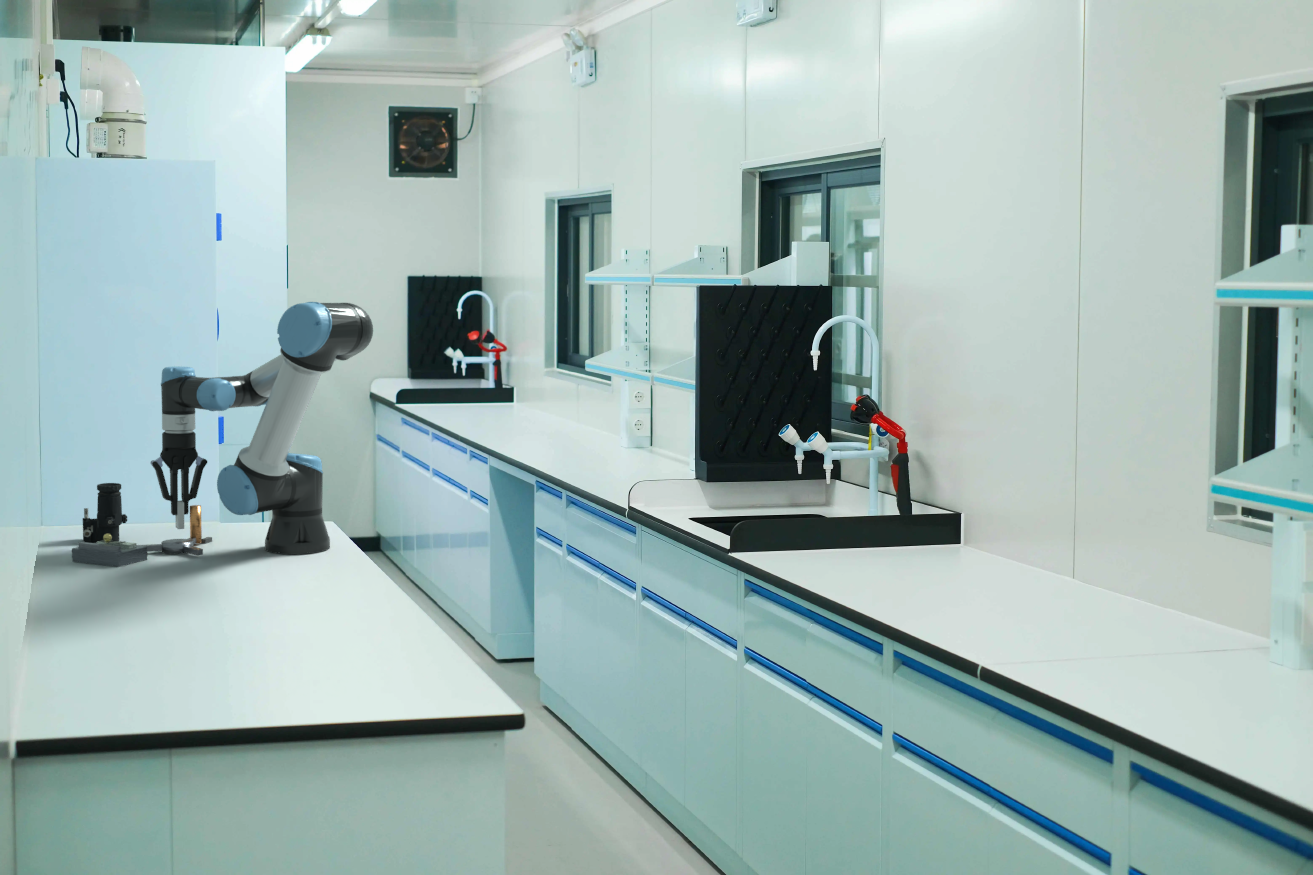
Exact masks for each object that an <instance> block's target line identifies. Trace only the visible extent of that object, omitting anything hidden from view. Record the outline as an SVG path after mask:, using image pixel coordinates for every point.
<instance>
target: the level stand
mask: <svg viewBox="0 0 1313 875" xmlns="http://www.w3.org/2000/svg"><path fill="white" fill-rule="evenodd" d="M103 539H104V540H101V541H97V543H87V542H84V541H80V542H78V544H77V545H78V546H76V547H73V548H71V559H72V560H71V561H72V562H74V563H81V564H90V565H96V566H97V565H98V566H107V567H114V568H115V567H116V568H119V567H125V566H128V565H131V564H132V565H133V564H136V563H139V562H142V561H147V560H148V552H147V547H146V546H137V545H138V544H137V543H136V542H129V541H120V540H119V541H117V540H115V541H112V540H111V539H112V536H111V535H110V534H105V535H104V536H103Z"/></svg>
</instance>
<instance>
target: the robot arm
mask: <svg viewBox="0 0 1313 875" xmlns="http://www.w3.org/2000/svg"><path fill="white" fill-rule="evenodd" d="M278 321H279V322H278V324H277V329H276V333H277V335H278V337H277V341H278V344H279V346H280V350H279V351H280V352H279V353H280V354H279V355H277V356H275V357H274V358H272V359H270V360H268V361H267V362H265V363H263V364H262V365H260V366H259V367H257V368H255V369H253V370H252V371H249V372H248V373H246V374H244V375H233V376H218V377H217V376H216V377H200V376H196V371H195V368H193V367H191V366H175V365H174V366H166V367H164V368H162V370H161V382H160V388H161V389H160V390H161V430H163V431H164V432H162V434H161V445H162V447H161V448H162V450H161V452H160V454H159V457H157V458H156V459H154V460H151V461H150V465H151V466H152V468H153V469H154V471H155V475H156V477H157V483H158V486H159V488H160V493H161V495H162V496H161V497H162V498H163V499H164V500H165V501H169V502H170V514H171V515H172V516H175V528H176V529H177V530H184V529H185V515H188V514H189V513H190V507H189V502H190V501H191V500H193V499H196V498H197V497H198V496H197V495H198V492H199V488H200V484H201V480H202V475H203V471H204V468H205V467H206V465H208V459H206V458H204V457H202V456H200V455H199V453H198V451H197V448H196V445H197V444H196V440H197V439H196V433H195V431H194V430H195V429H196V409H197V410H203V411H204V410H205V411H210V412H224V411H227V410H229V409H234V408H247V407H261V406H264V408H263V411H262V414H261V416H260V419H259V421H258V423H257V426H256V428H255V431H254V434H253V436H252V438H251V441H250V442H249V443H250V444H249V446H246V447H242V448H241V449H240V450H239V451H238V454H237V457H236V460H235V462H234V463H233V464H229V465H227V466H225V467H223V468H222V469H221V470H220V471H219V473H218V476H217V480H216V487H217V493H218V495H219V499H220V501H221V503H222V504H223V506H224V507H225V509H227V510H228V511H229V512H230V513H232V514H234V515H237V516H247V515H248V516H252V515H255V514H258V513H263V512H269V511H271V514H272V515H271V521H270V523H269V527H268V530H267V533H266V536H265V539H264V549H265V551H266V552H270V553H273V554H282V555H283V554H284V555H304V554H314V553H319V552H325V551H327V550H329V549H330V548H331V538H330V535H329V532H328V529H327V527H326V523H325V520H324V517H323V478H324V477H323V475H324V472H323V464H322V458H320V457H319V456H317V455H314V454H313V455H312V454H305V453H293V452H290V451H291V448H292V445H293V443H294V441H295V439H296V435H297V434H298V431H299V428H300V426H301V424H302V421H303V419H304V417H305V415H306V411H307V409H308V407H309V404H310V402H311V399H312V398H313V395H314V393H315V390H316V389H317V385H318V382H319V380H320V377H321V375H322V374H326V373H328V372H330V371H331V369H332V367H333V365H334V363H335V362H336V361H339V362H341V361H342V362H343V361H344V362H345V361H348V360H349V359H351V358H352V357H354V356H356V355H358V354H360V353H361V352H362V351H364V350H366V348H367V347H368V346H369V345H370V343H371V341H372V338H373V335H374V326H373V322H372V319H371V317H370V315H369V314H368V313H367V311H366V310H364V309H363V308H362V307H361V306H359V305H357V304H355V303H351V302H317V301H306V302H301V303H296V304H294V305H292V306H289V308H287V309H286V310H285V311H284V313H283V314H282V315H281V318H280V319H279V320H278ZM163 463H165V465H166V466H167V468H169V476H170V477H169V480H170V481H169V486H170V488H168V485H167V480H166V478H165V475H164V471H163V465H164V464H163ZM194 463H195V468H194V473H193V477H192V481H191V485H190V486H189V484H190V483H189V482H190V481H189V480H190V479H189V478H190V476H189V474H190V468H191V466H192V465H193V464H194ZM179 470H180V478H181V479H180V482H181V483H180V484H181V485H180V487H181V489H180V492H181V493H180V495H181V500H179V494H178V493H179V491H178V490H179V488H178V487H179V486H178V480H179V479H178V478H179V477H178V476H179ZM189 487H190V488H189ZM169 489H170V490H169ZM169 491H170V492H169Z"/></svg>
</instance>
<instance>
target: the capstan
mask: <svg viewBox="0 0 1313 875" xmlns="http://www.w3.org/2000/svg"><path fill="white" fill-rule="evenodd" d="M202 531H203V529H202V505H201V504H200V505H199V504H198V505H197V504H194V505H193V504H192V505H190V506H189V537H188V538H172V539H165V540H162V541H161V543H154V544H153V543H152V544H136V545H137V546H146V547H147V553H148V552H150V553H151V552H161V553H163V554H168V555H179V554H180V555H181V554H190V555H194V556H203V555H204V549H203V548H202V547H201V548H200V547H196V546H194V545H196V544H197V545H199V544H203V543H202V539H203V536H202Z"/></svg>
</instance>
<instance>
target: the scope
mask: <svg viewBox="0 0 1313 875" xmlns="http://www.w3.org/2000/svg"><path fill="white" fill-rule="evenodd" d="M96 490H97V491H98V492H97V507H96V509H97V510H96V512H97V513H96V517H95V518H90V517H89V507H87V508H86V507H85V508H83V516H84V517H82V540H83V541H82V542H87V543H97V541H101V540H104V539H103V536H104V535H105V534H110V535H111V536H112V539H111V540H112V541H115V540H117V541H120V525H122V524H126V523H127V522H128V516H127V515H126V513H123V511H122V510H123V509H122V508H123V507H122V506H123V505H122V495H121V494H122V493H121V490H122V484H121V483H118V482H117V483H116V482H104V483H98V484H97V485H96Z"/></svg>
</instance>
